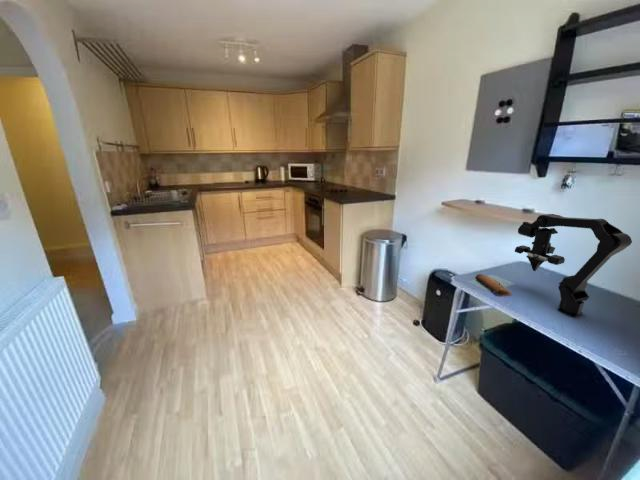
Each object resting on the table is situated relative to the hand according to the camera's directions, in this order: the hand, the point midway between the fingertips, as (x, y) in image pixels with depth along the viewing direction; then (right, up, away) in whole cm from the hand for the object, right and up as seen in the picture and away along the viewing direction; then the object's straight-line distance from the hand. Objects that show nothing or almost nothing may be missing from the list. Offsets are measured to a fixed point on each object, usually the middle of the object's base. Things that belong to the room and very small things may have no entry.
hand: (534, 270), depth 132 cm
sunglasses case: (-14, -10, +10) cm, 20 cm away
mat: (-12, -8, +14) cm, 20 cm away
